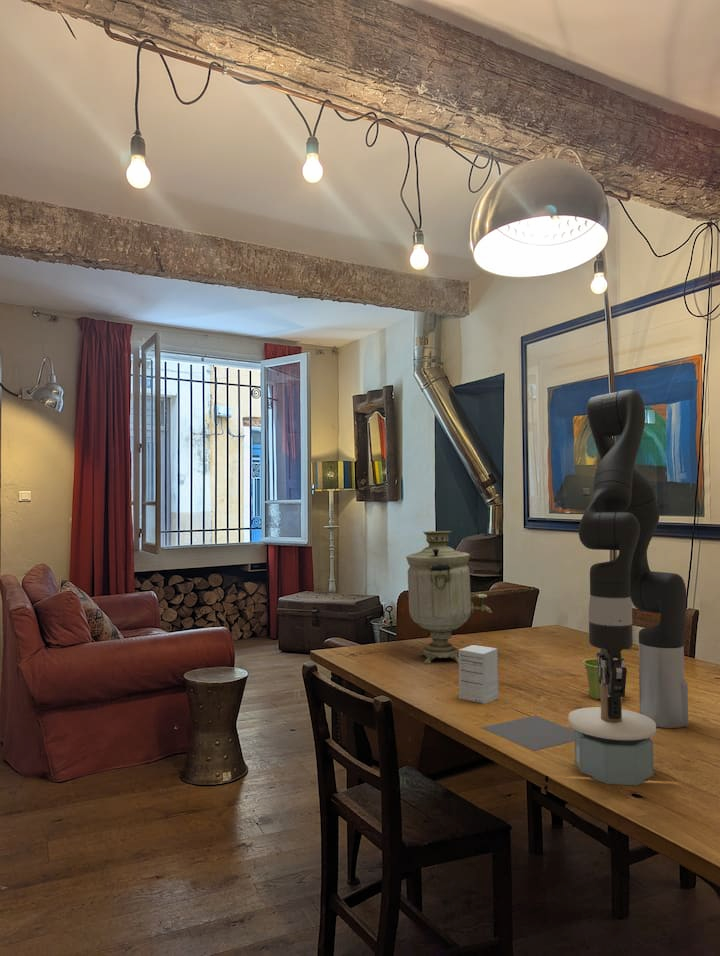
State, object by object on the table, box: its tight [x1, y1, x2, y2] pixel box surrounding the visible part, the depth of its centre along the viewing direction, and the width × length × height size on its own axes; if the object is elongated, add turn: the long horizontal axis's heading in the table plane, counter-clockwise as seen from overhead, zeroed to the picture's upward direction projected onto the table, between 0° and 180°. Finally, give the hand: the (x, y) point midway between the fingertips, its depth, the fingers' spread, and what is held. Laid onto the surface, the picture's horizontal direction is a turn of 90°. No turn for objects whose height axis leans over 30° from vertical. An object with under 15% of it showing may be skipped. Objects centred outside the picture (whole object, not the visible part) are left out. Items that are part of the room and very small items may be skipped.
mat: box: [480, 715, 575, 752], centre depth 143 cm, size 16×16×1 cm
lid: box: [568, 684, 657, 740], centre depth 124 cm, size 15×15×7 cm
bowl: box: [574, 729, 654, 787], centre depth 124 cm, size 13×13×6 cm
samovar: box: [405, 530, 493, 664], centre depth 212 cm, size 30×26×40 cm
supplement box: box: [458, 644, 499, 705], centre depth 169 cm, size 7×7×13 cm
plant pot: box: [582, 658, 601, 700], centre depth 170 cm, size 9×9×9 cm
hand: (611, 714), depth 124 cm, fingers closed on lid, 3 cm apart
